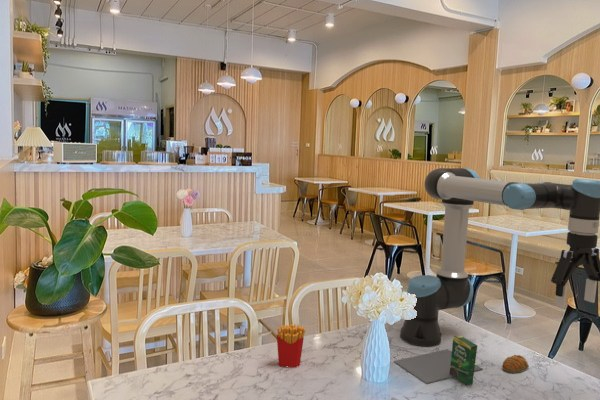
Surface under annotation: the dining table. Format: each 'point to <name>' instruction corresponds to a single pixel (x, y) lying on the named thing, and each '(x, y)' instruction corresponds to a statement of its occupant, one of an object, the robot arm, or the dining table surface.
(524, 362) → the pastry
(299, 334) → the french fries
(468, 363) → the coffee box
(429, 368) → the slate mat
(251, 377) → the dining table surface
